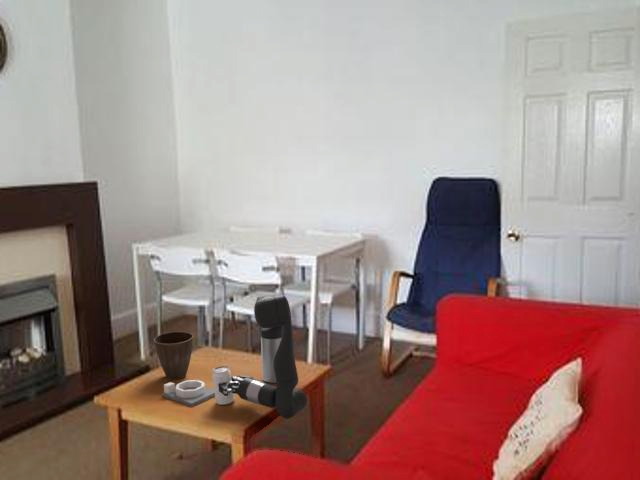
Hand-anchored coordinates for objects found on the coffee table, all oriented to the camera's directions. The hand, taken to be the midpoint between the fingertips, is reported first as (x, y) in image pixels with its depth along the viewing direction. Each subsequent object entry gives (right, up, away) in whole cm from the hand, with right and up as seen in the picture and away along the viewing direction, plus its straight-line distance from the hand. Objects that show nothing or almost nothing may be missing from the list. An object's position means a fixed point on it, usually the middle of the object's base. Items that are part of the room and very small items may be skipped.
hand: (220, 379), depth 219 cm
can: (+2, -8, -1) cm, 8 cm away
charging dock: (-12, -7, +6) cm, 15 cm away
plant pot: (-21, -4, +24) cm, 33 cm away
